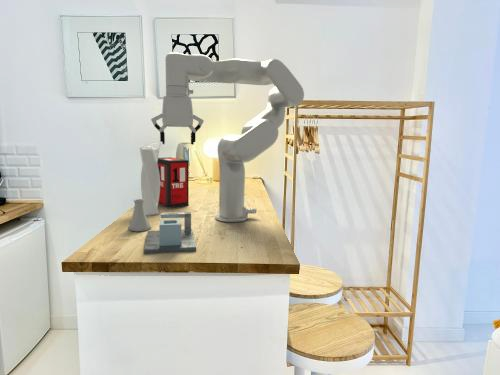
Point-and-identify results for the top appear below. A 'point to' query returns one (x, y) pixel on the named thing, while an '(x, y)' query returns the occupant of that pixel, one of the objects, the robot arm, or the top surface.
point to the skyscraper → (150, 179)
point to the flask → (139, 218)
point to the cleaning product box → (173, 182)
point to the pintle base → (187, 245)
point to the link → (170, 232)
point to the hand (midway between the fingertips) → (178, 144)
